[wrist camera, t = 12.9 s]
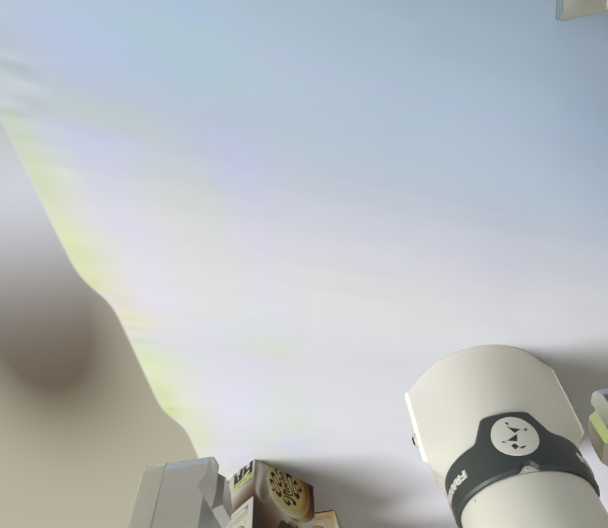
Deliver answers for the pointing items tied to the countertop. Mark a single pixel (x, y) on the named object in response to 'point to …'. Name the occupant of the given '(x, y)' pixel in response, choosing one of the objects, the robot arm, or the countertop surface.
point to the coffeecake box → (326, 520)
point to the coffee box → (270, 499)
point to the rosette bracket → (579, 8)
